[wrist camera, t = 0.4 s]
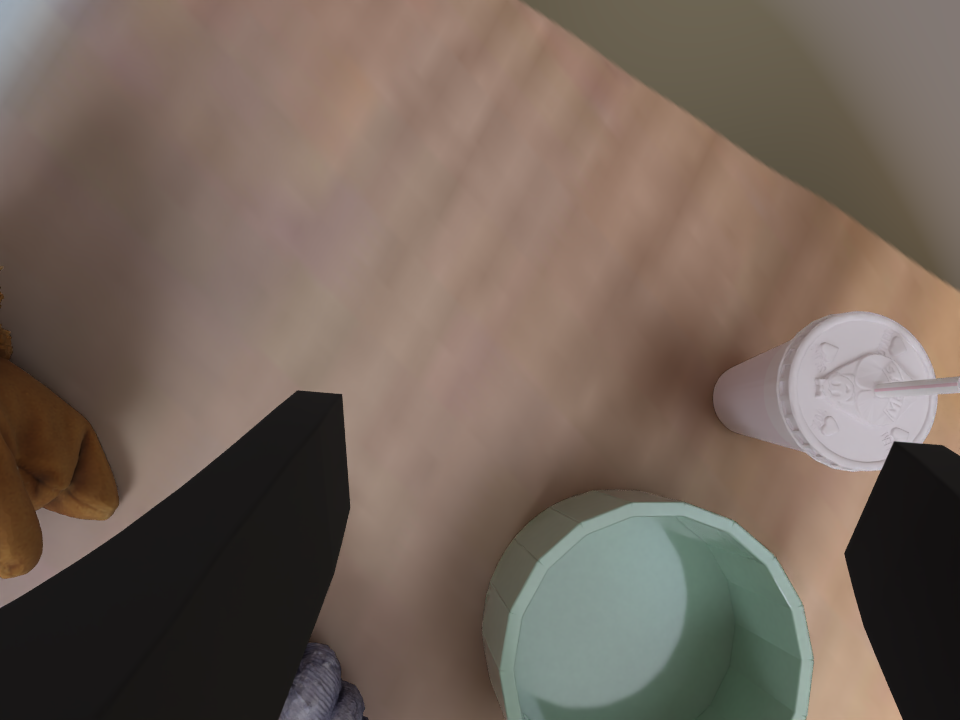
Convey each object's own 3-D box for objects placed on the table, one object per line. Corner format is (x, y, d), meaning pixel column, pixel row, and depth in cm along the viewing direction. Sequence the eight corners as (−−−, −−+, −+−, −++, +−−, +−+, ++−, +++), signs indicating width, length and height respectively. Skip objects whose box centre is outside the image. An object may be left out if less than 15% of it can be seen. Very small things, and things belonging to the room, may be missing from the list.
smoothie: (805, 462, 38) (1041, 483, 24) (687, 459, 37) (861, 479, 23) (803, 341, 39) (1032, 293, 25) (687, 336, 38) (856, 283, 24)
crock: (695, 799, 36) (760, 878, 29) (441, 712, 35) (452, 776, 28) (774, 541, 37) (851, 564, 31) (533, 451, 36) (563, 456, 30)
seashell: (210, 601, 35) (365, 734, 36) (131, 689, 30) (311, 840, 31) (261, 546, 32) (427, 690, 33) (183, 633, 28) (377, 799, 28)
